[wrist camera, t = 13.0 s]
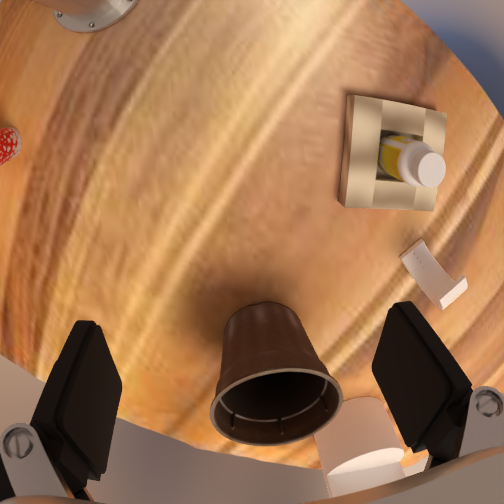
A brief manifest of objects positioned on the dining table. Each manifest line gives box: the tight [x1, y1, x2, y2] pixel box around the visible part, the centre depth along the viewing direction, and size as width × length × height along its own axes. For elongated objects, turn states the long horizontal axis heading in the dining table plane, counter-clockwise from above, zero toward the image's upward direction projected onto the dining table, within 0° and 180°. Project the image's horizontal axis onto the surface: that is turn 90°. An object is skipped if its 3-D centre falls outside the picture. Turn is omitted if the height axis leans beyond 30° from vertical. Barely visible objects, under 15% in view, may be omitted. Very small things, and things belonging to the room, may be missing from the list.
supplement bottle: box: [377, 134, 446, 188], centre depth 34 cm, size 5×5×10 cm
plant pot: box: [210, 302, 343, 446], centre depth 42 cm, size 16×16×16 cm
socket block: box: [338, 95, 447, 211], centre depth 38 cm, size 14×14×2 cm
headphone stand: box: [399, 239, 467, 310], centre depth 41 cm, size 5×6×12 cm
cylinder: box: [314, 397, 405, 498], centre depth 52 cm, size 17×17×28 cm
